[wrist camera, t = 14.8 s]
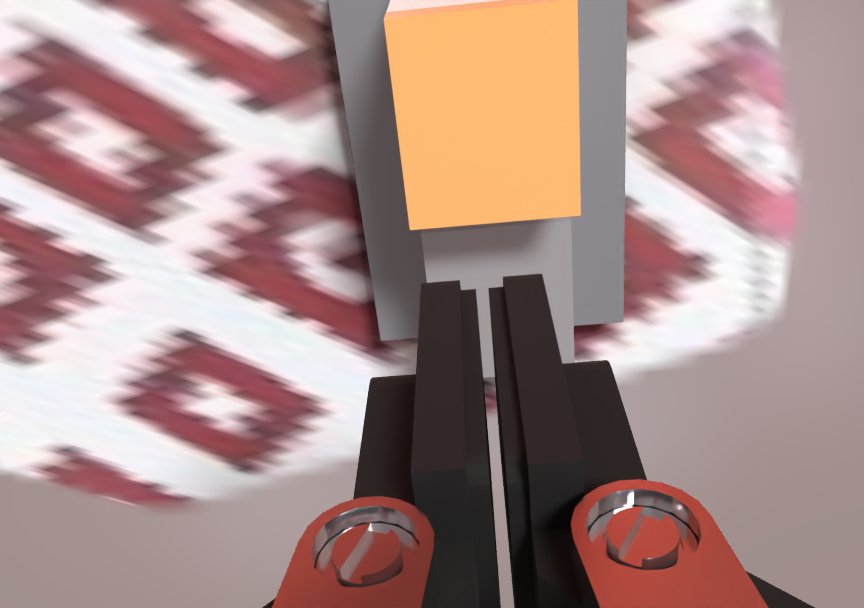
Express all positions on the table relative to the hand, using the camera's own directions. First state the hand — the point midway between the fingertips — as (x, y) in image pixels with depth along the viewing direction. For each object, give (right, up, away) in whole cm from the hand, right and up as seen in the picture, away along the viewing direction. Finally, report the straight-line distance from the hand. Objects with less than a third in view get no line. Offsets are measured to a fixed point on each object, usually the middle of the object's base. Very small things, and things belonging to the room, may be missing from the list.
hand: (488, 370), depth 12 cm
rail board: (+1, +7, +20) cm, 22 cm away
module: (+1, +9, +17) cm, 20 cm away
